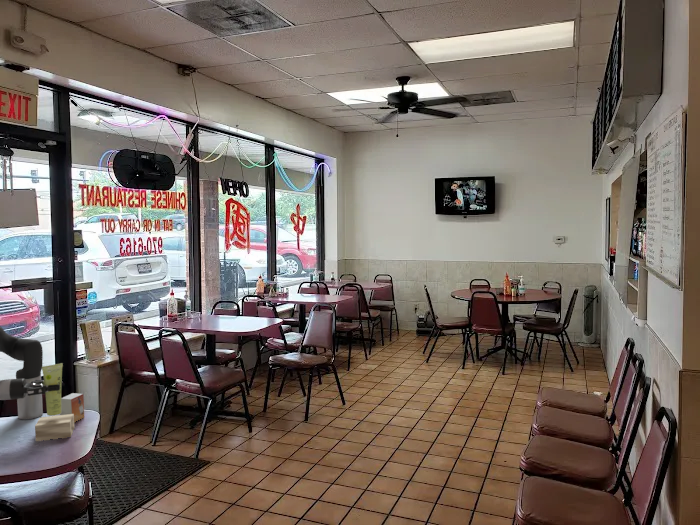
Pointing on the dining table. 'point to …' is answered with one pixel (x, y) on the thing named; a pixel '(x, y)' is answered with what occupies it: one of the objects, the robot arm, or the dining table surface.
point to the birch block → (54, 427)
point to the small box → (73, 406)
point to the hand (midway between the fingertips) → (60, 385)
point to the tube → (53, 398)
